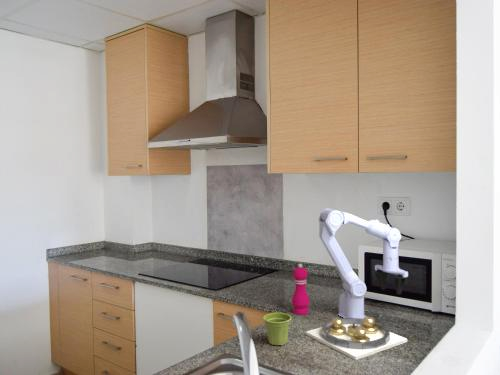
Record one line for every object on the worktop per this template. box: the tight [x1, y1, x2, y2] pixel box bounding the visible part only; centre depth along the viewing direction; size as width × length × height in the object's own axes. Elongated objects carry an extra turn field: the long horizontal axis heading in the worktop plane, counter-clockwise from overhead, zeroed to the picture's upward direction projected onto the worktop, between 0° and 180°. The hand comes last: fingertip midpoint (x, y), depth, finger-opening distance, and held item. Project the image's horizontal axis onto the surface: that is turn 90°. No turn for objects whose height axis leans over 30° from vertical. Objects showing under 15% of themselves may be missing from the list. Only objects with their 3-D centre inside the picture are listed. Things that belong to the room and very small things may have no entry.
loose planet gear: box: [360, 315, 378, 334], centre depth 147 cm, size 6×6×4 cm
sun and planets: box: [329, 317, 370, 342], centre depth 142 cm, size 17×9×4 cm, turn 32°
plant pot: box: [263, 312, 292, 346], centre depth 141 cm, size 9×9×9 cm
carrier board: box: [305, 324, 408, 361], centre depth 143 cm, size 24×24×1 cm
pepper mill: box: [291, 263, 311, 316], centre depth 170 cm, size 7×7×20 cm
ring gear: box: [321, 317, 390, 349], centre depth 143 cm, size 22×22×2 cm
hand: (391, 291), depth 164 cm, fingers open, 7 cm apart
